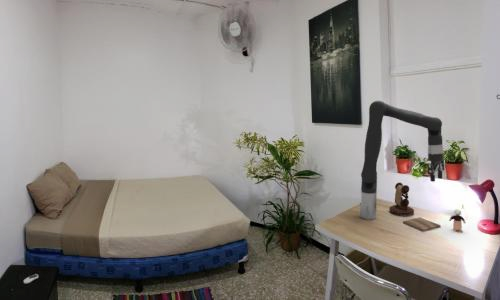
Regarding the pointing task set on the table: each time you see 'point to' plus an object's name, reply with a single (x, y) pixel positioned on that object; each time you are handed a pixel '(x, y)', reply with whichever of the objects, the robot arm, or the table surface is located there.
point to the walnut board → (421, 224)
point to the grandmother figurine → (457, 220)
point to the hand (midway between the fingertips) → (436, 179)
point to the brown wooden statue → (401, 201)
